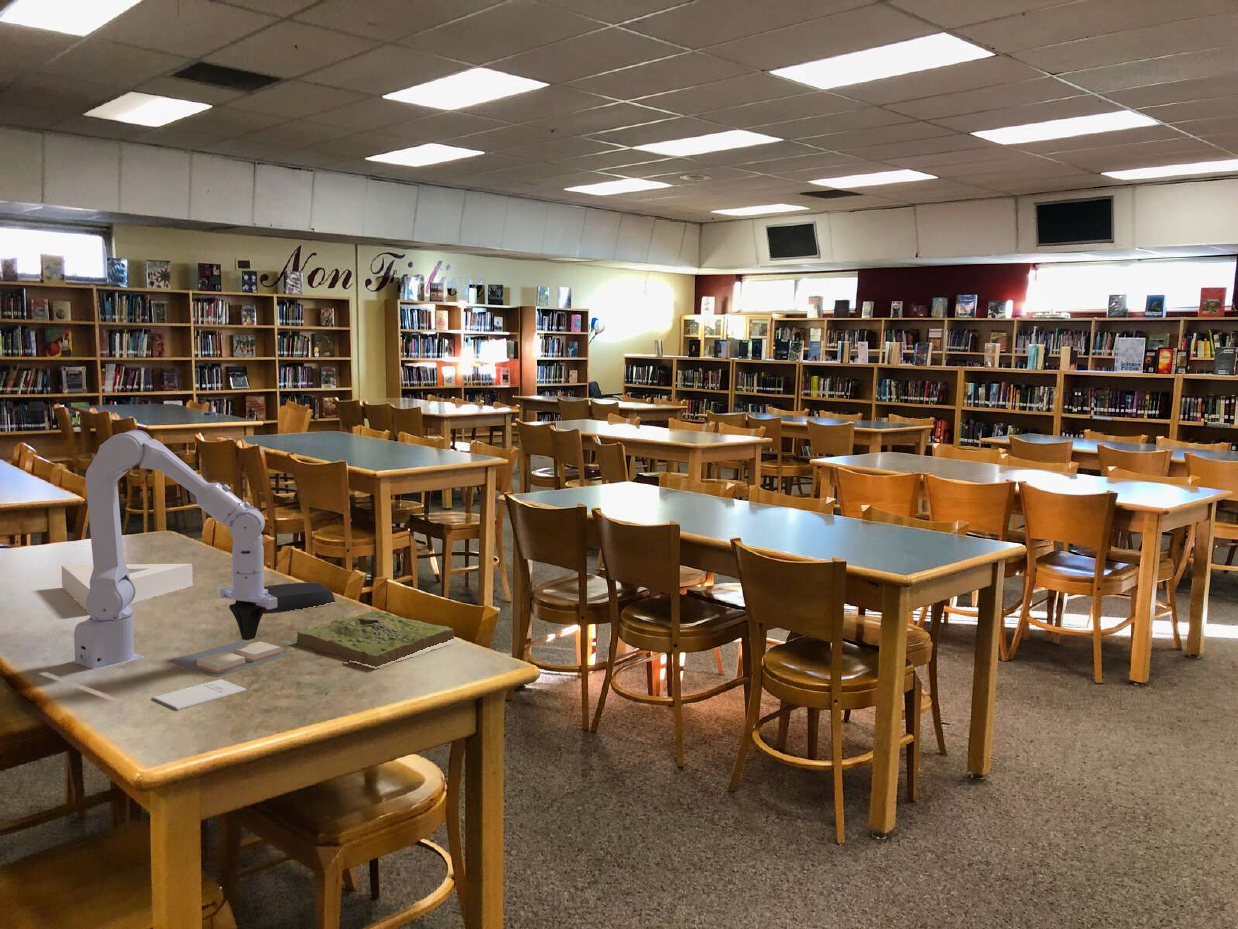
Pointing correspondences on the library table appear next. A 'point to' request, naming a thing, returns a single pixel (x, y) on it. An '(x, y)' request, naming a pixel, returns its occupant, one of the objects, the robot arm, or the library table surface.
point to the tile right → (257, 651)
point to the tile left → (220, 662)
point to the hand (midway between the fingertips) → (248, 638)
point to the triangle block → (143, 576)
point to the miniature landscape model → (374, 637)
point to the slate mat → (191, 659)
